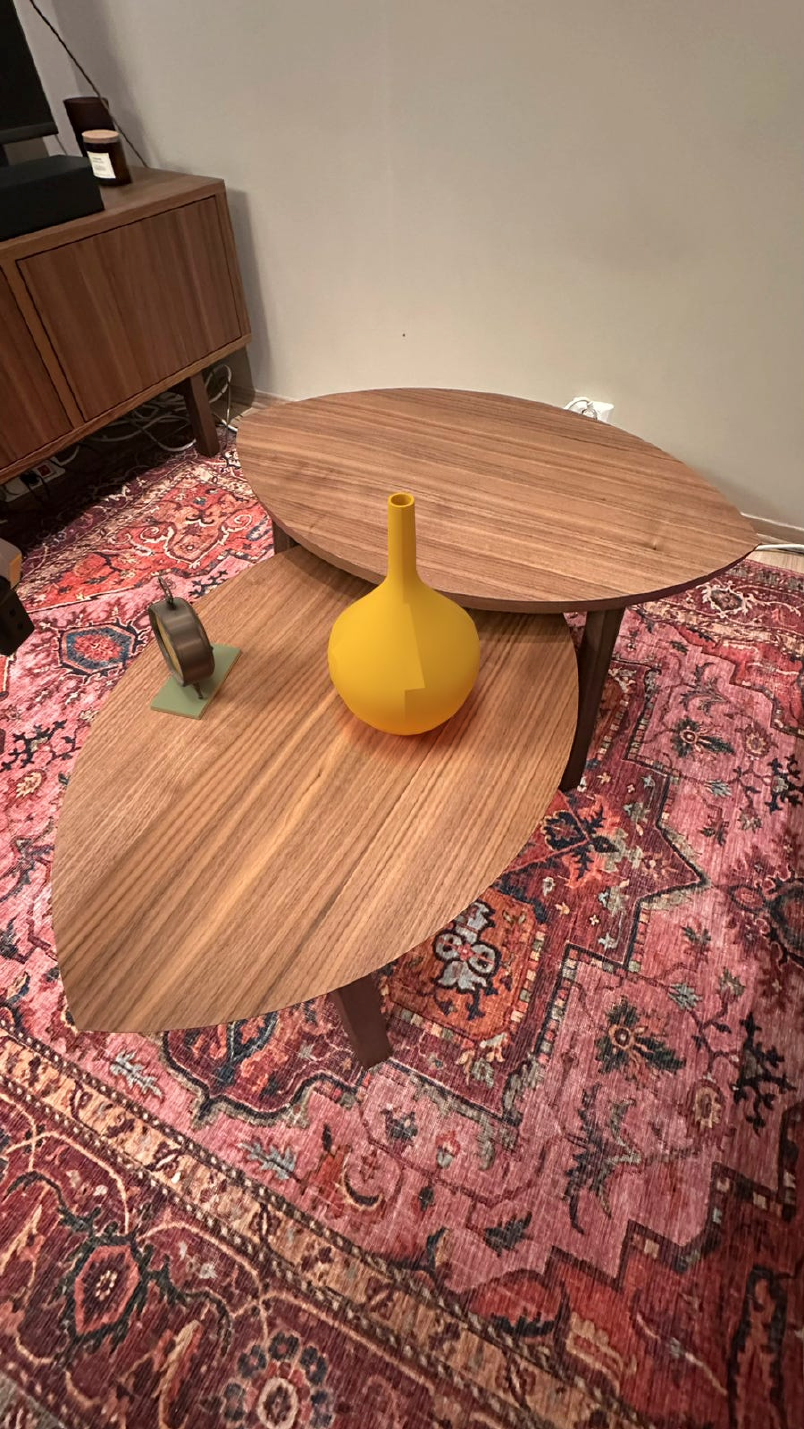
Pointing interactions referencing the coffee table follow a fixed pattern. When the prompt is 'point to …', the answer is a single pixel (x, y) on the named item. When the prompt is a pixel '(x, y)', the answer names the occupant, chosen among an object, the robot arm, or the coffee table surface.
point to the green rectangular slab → (186, 698)
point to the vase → (403, 643)
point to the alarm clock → (182, 640)
